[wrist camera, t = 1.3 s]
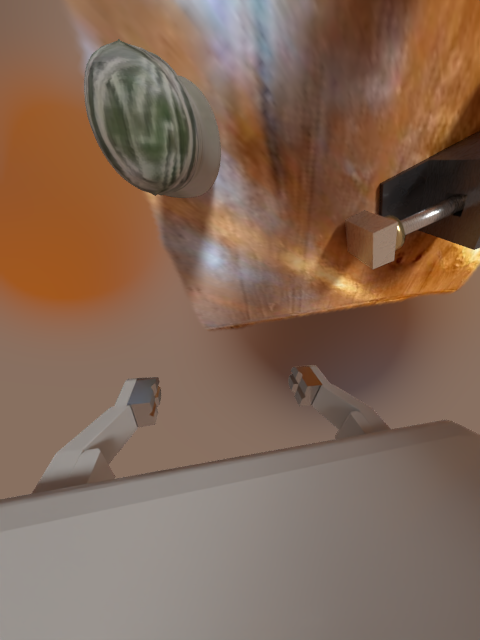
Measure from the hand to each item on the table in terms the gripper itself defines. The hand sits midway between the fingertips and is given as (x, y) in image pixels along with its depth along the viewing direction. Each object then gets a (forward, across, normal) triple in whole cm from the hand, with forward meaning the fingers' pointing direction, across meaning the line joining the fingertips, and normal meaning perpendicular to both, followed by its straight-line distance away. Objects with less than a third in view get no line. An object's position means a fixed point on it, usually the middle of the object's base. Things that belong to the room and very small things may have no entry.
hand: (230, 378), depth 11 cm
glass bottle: (+36, +3, -18) cm, 41 cm away
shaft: (+31, -41, -13) cm, 53 cm away
